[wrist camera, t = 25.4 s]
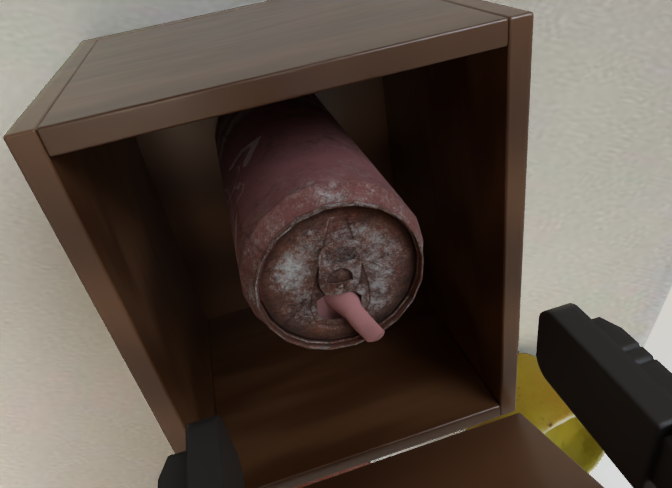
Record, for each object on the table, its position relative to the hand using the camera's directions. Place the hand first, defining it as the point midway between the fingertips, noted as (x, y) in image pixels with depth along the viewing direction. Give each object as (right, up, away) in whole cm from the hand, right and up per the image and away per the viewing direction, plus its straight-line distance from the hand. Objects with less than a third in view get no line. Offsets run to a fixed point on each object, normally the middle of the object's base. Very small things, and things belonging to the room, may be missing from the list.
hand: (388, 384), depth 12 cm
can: (-5, +9, +15) cm, 18 cm away
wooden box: (-5, +7, +17) cm, 19 cm away
